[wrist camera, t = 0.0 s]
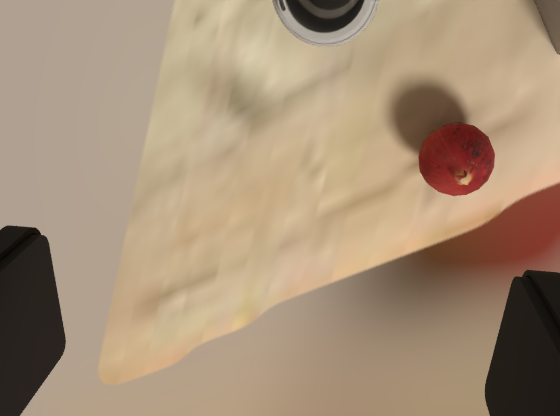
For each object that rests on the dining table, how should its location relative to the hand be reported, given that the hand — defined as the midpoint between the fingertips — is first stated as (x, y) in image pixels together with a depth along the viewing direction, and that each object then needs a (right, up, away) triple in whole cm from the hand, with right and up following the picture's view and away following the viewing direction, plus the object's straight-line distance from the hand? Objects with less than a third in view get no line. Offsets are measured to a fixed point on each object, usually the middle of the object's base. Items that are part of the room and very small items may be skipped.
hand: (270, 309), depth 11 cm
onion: (+15, +8, +36) cm, 40 cm away
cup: (+4, +20, +32) cm, 38 cm away
